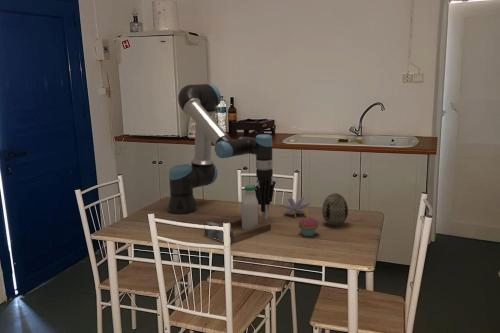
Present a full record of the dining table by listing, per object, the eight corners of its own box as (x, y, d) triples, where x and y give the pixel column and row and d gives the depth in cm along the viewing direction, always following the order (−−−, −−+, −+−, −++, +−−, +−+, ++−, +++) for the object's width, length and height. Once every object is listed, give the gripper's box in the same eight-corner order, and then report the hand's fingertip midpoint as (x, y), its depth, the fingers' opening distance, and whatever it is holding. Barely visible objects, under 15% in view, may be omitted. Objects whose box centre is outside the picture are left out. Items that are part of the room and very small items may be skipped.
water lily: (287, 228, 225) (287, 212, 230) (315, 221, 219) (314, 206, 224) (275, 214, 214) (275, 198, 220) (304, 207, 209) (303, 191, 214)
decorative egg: (317, 225, 207) (317, 194, 204) (330, 219, 215) (331, 189, 212) (339, 231, 199) (340, 198, 196) (352, 224, 208) (353, 193, 205)
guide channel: (204, 235, 196) (204, 222, 195) (246, 222, 213) (246, 210, 212) (229, 244, 185) (228, 230, 184) (270, 229, 202) (270, 217, 201)
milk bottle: (257, 231, 200) (256, 188, 196) (240, 231, 201) (239, 187, 198) (260, 226, 207) (259, 184, 203) (243, 225, 209) (243, 183, 205)
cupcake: (295, 232, 198) (295, 206, 196) (312, 230, 201) (312, 204, 199) (304, 239, 190) (304, 211, 188) (322, 236, 193) (322, 209, 191)
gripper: (260, 171, 199) (260, 222, 203) (280, 167, 208) (280, 216, 212) (248, 169, 204) (249, 219, 209) (268, 165, 213) (268, 213, 217)
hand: (264, 217), depth 210 cm, fingers closed
